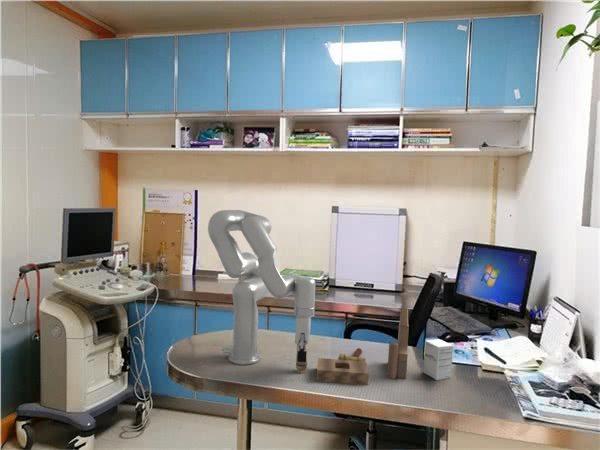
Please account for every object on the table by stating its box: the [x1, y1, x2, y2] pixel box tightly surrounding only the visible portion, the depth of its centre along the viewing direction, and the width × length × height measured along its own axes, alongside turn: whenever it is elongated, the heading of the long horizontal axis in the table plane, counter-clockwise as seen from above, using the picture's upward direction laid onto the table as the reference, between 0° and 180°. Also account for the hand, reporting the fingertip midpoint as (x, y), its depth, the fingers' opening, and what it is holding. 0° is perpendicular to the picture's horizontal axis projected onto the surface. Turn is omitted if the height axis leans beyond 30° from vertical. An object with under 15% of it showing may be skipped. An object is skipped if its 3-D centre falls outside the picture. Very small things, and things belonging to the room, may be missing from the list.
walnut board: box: [316, 357, 370, 386], centre depth 152 cm, size 18×11×4 cm, turn 86°
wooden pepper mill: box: [295, 342, 309, 374], centre depth 154 cm, size 4×4×12 cm
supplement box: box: [423, 338, 454, 381], centre depth 156 cm, size 7×7×13 cm
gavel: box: [337, 347, 367, 363], centre depth 169 cm, size 21×5×10 cm
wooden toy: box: [387, 306, 410, 380], centre depth 158 cm, size 16×7×25 cm, turn 169°
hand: (302, 356), depth 154 cm, fingers open, 9 cm apart
